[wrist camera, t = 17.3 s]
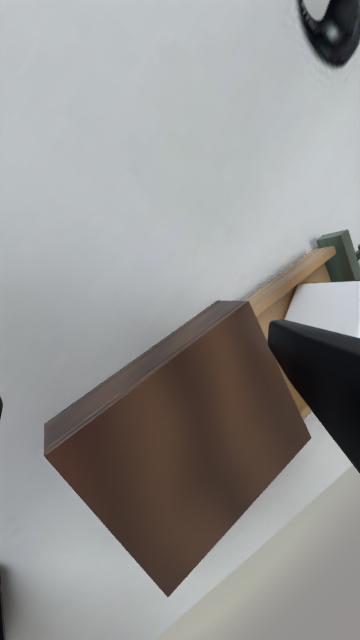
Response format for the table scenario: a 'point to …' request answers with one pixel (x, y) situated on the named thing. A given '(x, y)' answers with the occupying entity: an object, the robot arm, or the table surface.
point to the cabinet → (181, 440)
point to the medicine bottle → (327, 306)
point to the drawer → (315, 267)
